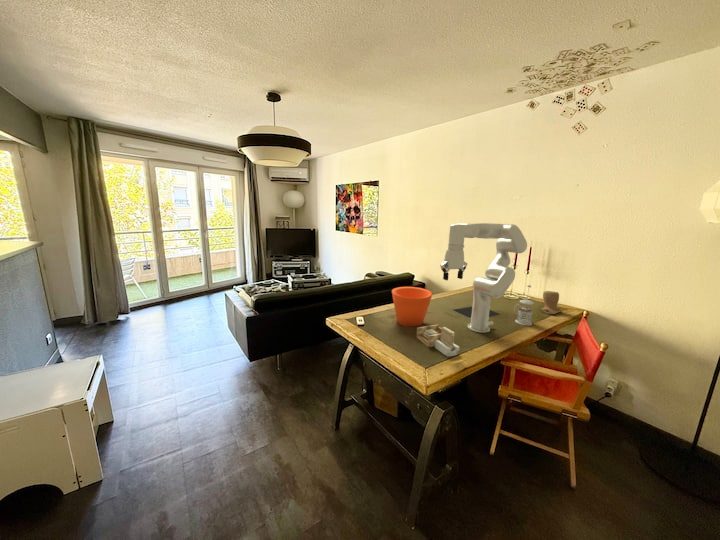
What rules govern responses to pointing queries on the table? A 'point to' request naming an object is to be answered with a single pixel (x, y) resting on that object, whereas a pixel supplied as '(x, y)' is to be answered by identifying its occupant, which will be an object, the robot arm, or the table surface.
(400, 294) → the flowerpot
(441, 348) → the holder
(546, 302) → the stone cup
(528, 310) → the french press
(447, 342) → the wooden board
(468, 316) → the tablet
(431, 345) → the rack
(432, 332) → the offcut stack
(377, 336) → the table surface
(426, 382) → the table surface
